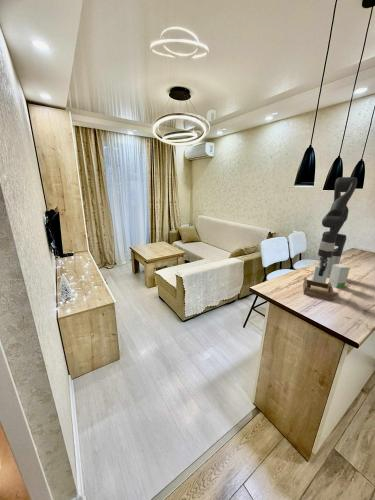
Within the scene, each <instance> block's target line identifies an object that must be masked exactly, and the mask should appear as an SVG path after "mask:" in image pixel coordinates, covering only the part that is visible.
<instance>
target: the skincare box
mask: <svg viewBox="0 0 375 500" xmlns="http://www.w3.org/2000/svg"><path fill="white" fill-rule="evenodd" d="M350 269H351V266H348V265H346V264H341V263H339V264H333V267H332V271H331V275H330V277H328V278H329V279H328V282H329V283H331V285H332V288H335V289H341V288H345V287H346V283H347V279H348V276H349V272H350Z"/></svg>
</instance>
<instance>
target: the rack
mask: <svg viewBox="0 0 375 500" xmlns="http://www.w3.org/2000/svg"><path fill="white" fill-rule="evenodd" d="M311 285H312V286H316V287H321V288H326V289H328V292H323V291H318V290H314V289H309V288H310V287H311ZM333 288H334V287H333V286H332V285H331V283H329V281H328V283H326V282H325V283H320V282H315V281H312V279H311V280H310V279H307V277H304V278H303V282H302V289H303V295H306V296H309V297H313V298H318V299H323V300H327V301H333V300H334V296H335V291H334V289H333Z"/></svg>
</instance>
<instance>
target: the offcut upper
mask: <svg viewBox="0 0 375 500" xmlns="http://www.w3.org/2000/svg"><path fill="white" fill-rule="evenodd" d="M310 289H314V290H318V291H323V292H328V289H326V288H321V287H316V286H312V285H311V287H310Z"/></svg>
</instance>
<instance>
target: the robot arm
mask: <svg viewBox="0 0 375 500" xmlns="http://www.w3.org/2000/svg"><path fill="white" fill-rule="evenodd" d="M357 185H358V178H357V177H356V176H355V177H354V176H347V177H346V176H343V177H341V176H340V177H337V178H336V180H335V182H334V192H333V203H332V204H331V207H330V208H329V211H328V212H327V213H326V215H325V216H324V217H322V219H321V225H322V226H323V227H324V228H326V229H327V228H329V231H328V230H327V231H324V232H323V233H322V237H321V241H320V244H319V248H318V253H317V255H318V257H319V262H318V266H320V269H319V276H323V272H324V271H325V269H326V267H328V268H329V271H328V275H327V278H330V275H331V271H332V267H333V264H341V257H342V254H343V251H344V247H345V245H346V241H347V235H346V234H343V233H339V232H340V231H341V229H342V227H344V225H345V224H344V223H346V221H347V220H348V216H349V207H348V205H347V204H348V203H349V202H350V199H351V197H352V196H353V194H354V192H355V190H356V188H357ZM341 193H344V194H341ZM335 247H337V248H335ZM322 268H324V269H322Z"/></svg>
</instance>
